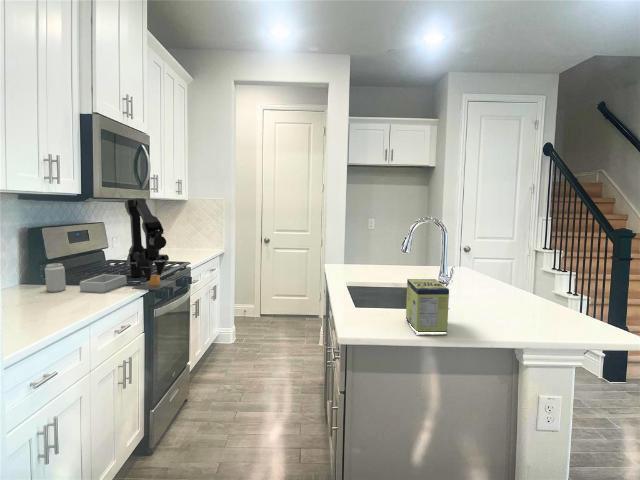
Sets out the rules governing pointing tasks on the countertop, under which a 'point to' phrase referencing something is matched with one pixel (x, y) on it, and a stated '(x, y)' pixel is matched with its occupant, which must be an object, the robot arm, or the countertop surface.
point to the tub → (103, 283)
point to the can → (55, 277)
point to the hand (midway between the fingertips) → (153, 278)
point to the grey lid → (153, 283)
